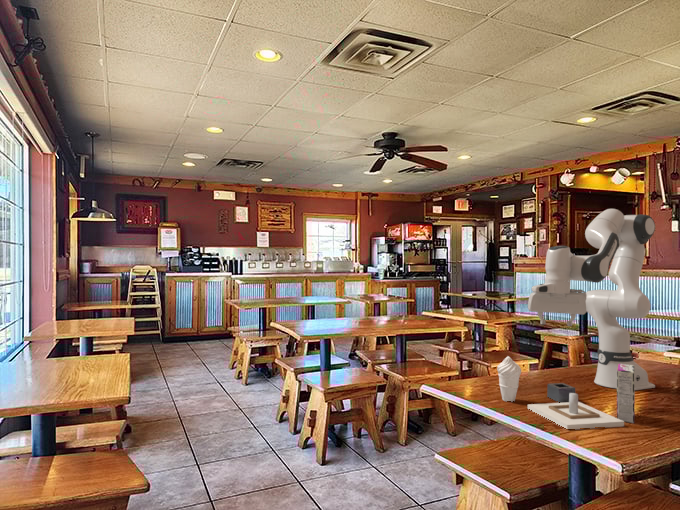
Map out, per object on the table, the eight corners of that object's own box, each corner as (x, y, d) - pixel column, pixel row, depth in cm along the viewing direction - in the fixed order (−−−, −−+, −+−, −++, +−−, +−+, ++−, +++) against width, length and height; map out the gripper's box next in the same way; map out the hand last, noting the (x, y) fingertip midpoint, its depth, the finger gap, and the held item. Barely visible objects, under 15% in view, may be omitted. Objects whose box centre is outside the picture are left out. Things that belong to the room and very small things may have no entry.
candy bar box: (617, 411, 159) (617, 363, 159) (634, 414, 157) (635, 365, 157) (615, 420, 150) (616, 369, 150) (634, 424, 147) (635, 371, 147)
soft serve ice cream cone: (503, 395, 176) (503, 352, 176) (525, 400, 170) (525, 356, 170) (492, 399, 170) (493, 355, 170) (514, 405, 164) (515, 359, 164)
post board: (578, 406, 165) (579, 384, 165) (624, 426, 145) (624, 401, 145) (527, 408, 160) (527, 386, 161) (567, 430, 141) (567, 404, 141)
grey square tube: (562, 396, 176) (563, 383, 176) (575, 401, 170) (575, 387, 170) (547, 397, 175) (547, 383, 175) (559, 402, 168) (559, 388, 168)
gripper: (583, 289, 179) (582, 325, 179) (527, 286, 182) (526, 322, 182) (589, 290, 173) (588, 327, 172) (531, 287, 176) (530, 324, 176)
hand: (556, 325), depth 177 cm, fingers open, 8 cm apart
